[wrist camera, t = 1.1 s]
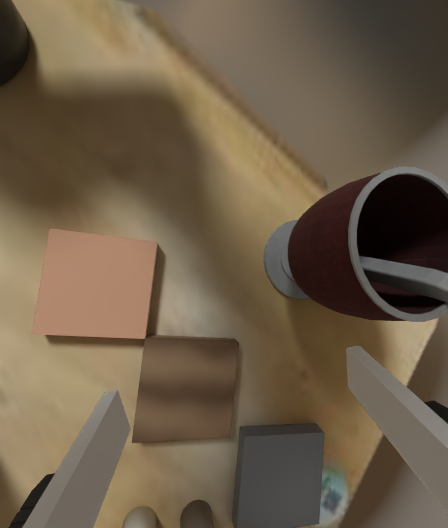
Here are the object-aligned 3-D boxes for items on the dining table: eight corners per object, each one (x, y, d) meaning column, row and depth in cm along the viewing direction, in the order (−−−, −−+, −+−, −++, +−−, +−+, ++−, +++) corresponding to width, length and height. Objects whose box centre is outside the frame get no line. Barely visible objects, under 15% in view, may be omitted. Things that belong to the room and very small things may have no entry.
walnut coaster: (146, 334, 29) (144, 338, 27) (234, 338, 32) (238, 342, 30) (134, 431, 28) (131, 442, 26) (226, 427, 31) (230, 437, 29)
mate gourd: (240, 249, 33) (340, 207, 13) (306, 199, 36) (465, 105, 16) (299, 330, 34) (468, 401, 15) (358, 276, 37) (562, 274, 18)
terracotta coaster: (58, 231, 28) (49, 228, 26) (158, 244, 30) (157, 242, 28) (41, 330, 26) (31, 334, 25) (146, 334, 29) (144, 338, 27)
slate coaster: (240, 426, 31) (244, 436, 29) (315, 423, 34) (324, 432, 32) (231, 520, 30) (235, 536, 28) (310, 509, 33) (319, 523, 31)
